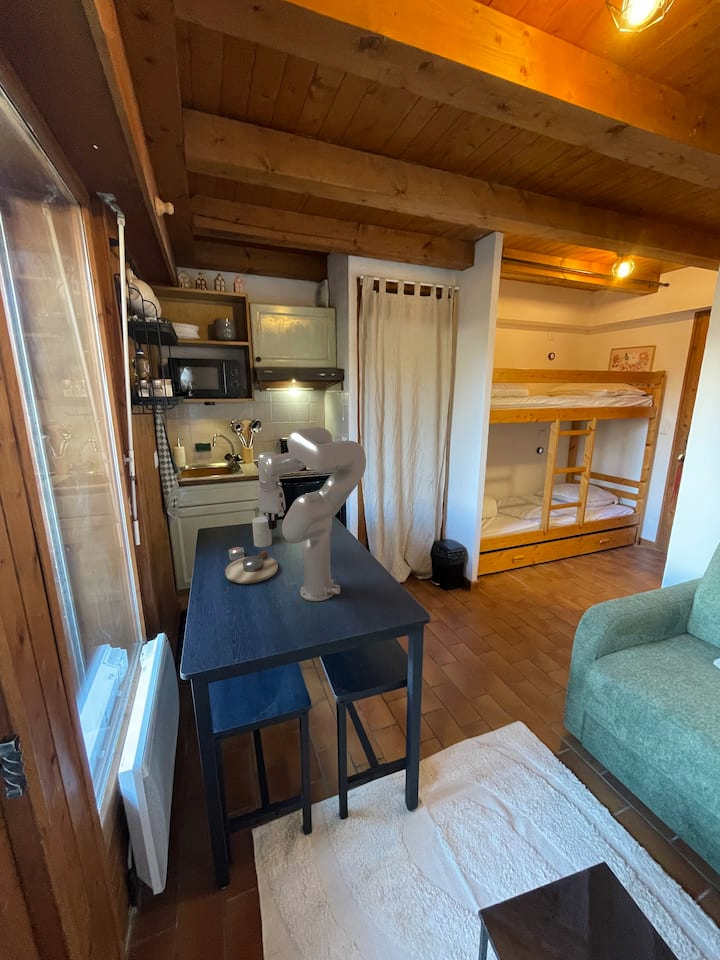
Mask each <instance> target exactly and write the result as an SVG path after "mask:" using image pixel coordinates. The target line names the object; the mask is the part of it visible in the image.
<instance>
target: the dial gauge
mask: <svg viewBox="0 0 720 960" xmlns="http://www.w3.org/2000/svg"><path fill="white" fill-rule="evenodd" d="M228 555H229V561H230V562H233V561H236V560H238V559H241V558H245V557H246V556H245V550H244V547H241V546H236V547H233V548H230V549H228Z"/></svg>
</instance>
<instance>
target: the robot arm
mask: <svg viewBox="0 0 720 960" xmlns="http://www.w3.org/2000/svg"><path fill="white" fill-rule="evenodd" d="M286 445H287V449H288V450H287V451H288V452H285V453H279V454H277V452H274V451H266V452H265V451H264V452H260V453H259V454H258V456H257V465H258V466H257V467H258V468H257V469H258V477H259V478H258V480H259V487H258V490H257V491H258V493H257V505H258V506H257V507H258V511H259V514H261V515H263V516H264V517H266V519H267V520H268V526H269V529H270V530H271V531H273V530H275V529H277V526H278V520H277V519H278V518H279V517H283V516H285V517H284V518H283V522H282V523H281V524H282V526H281V533H282V535H283V538H284V539H285V540H286V541H287V542H289V543H291V544H298V543H299V544H300V543H302V567H303V585H302V586H301V587H300V589H299V592H300V593H299V594H300V596H301V597H302V598H303V599H304V600H306V601H310V602H322V601H325V600H328V599H330V598H332V597H333V596H334V595H340V593H341V585H339V584H335V583H334V579H333V578H331V577H332V575H331V534H332V527H333V517H335V516H336V515H337V514H338V512H339V511H340V510H341V508H342V506H343V505H344V504H345V503H346V502H347V500H348V499H349V497H350V495H351V493H352V492H354V490H355V488H357V487H358V485H359V483H360V481H362V478H363V477H364V475H365V472H366V467H367V457H366V456H367V455H366V451H365V448H364V447H363V445H361V444H360V443H359V442H357V441H354V440H341V441H340V440H338V441H333V435H332V434H331V432H330V431H329V430H328V429H327V428H325V427H321V426H313V427H305V428H299V429H294V430H293V431H292V432H290V433H289V435H288V437H287V441H286ZM306 467H308V468H309V469H310V470H312V471H313V472H315V473H318V474H327V473H332V474H331V475H330V476H328V478H327V479H326V481H325V482H324V484H323V486H322V487H321V488H320V489H318V490H315V491H313V492H309V493H306V494H302V495H300V496H298V497H297V498H296V499H295V500H294V501H293V503H292V504H291V506H290V507H289V509H288V511H287V512H286V514H285V512H284V511H286V499H285V493H284V490H283V488H282V485H283V483H282V482H281V481H280V476H282V475H288V474H291V473H297V472H299V471H302V470H304V469H305V468H306Z"/></svg>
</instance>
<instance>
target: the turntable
mask: <svg viewBox="0 0 720 960" xmlns="http://www.w3.org/2000/svg"><path fill="white" fill-rule="evenodd" d="M251 556H252V555H251ZM251 556H249V557H251ZM258 556H260V557H262V558H263V559H264V568H263V569H261V570H260V571H257V572H246V571H244V570H243V562H242V561H243V560H244V559H245V558H247V557H248V556H245V558H241V559H237V560H233V561H231V563H229V564H228V565H227V566H226V568H225V571H224V573H225V578H226V579H227V580H229V581H230V582H232V583H235V584H255V583H259V582H262V581H266V580H268V579H269V578H271V577H273V576H274V575H275V574H276V573H277V572H278V569H279V568H278V567H279V565H278V564H279V563H278V562H277V559H275V558H273V557H271V556H268V550H265V549H263V550H262V551H260V552H259V553H258Z"/></svg>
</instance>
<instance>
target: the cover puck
mask: <svg viewBox="0 0 720 960" xmlns="http://www.w3.org/2000/svg"><path fill="white" fill-rule="evenodd" d="M246 557H247V558H245V559H244V560H243V561H242V562H243V570H244V571H246V572H257V571H260V570H261V569H263V568H264V559H263V558H262V557H260V556H259V555H251V557H250V556H246Z"/></svg>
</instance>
